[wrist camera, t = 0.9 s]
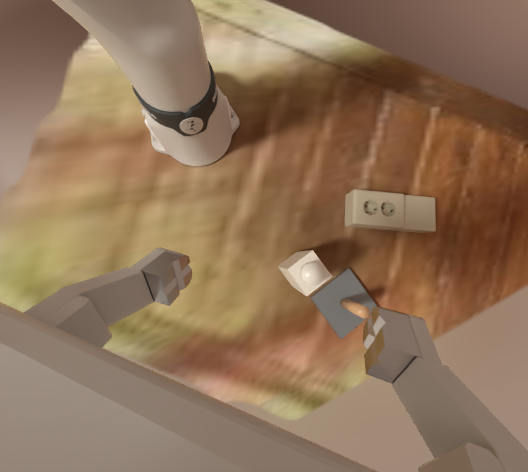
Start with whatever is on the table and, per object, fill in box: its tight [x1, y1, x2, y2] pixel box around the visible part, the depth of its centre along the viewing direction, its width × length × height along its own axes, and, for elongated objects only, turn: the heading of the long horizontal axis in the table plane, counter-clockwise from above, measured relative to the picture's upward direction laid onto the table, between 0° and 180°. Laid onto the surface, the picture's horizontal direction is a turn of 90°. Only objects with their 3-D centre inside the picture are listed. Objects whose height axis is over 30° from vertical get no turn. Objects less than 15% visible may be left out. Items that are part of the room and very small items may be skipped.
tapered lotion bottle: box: [278, 250, 332, 296], centre depth 36 cm, size 5×5×13 cm
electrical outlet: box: [345, 189, 436, 233], centre depth 43 cm, size 7×4×18 cm
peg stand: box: [310, 268, 377, 339], centre depth 38 cm, size 10×10×8 cm
